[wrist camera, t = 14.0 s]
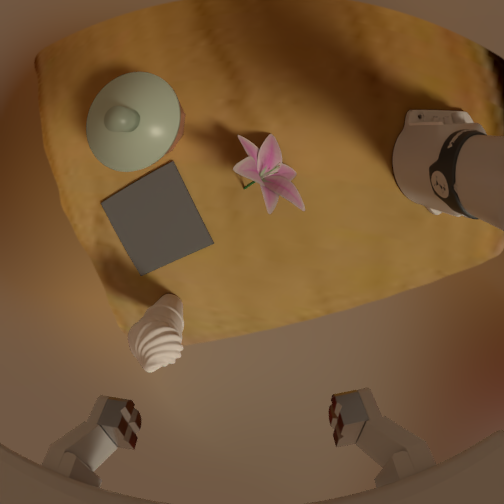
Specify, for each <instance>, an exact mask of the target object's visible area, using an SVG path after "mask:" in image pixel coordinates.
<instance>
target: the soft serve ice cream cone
mask: <svg viewBox="0 0 504 504" xmlns="http://www.w3.org/2000/svg"><path fill="white" fill-rule="evenodd" d="M183 328H184V321H183V303H182V301H181V300H180V298H179V297H177V296H176V295H173V294H165V295H163V296H162V297H161V298H160V299H159V300H158V301H157V302H156V303H155V304H154V305H153V306H151V307H149V308H148V309H147V311H146V312H145V315H144V316H143V317H142V318H141V319H140V320H139V322H137V323H135V324H134V325H133V326H132V327H131V329H130V330H129V333H128V342H129V347H130V350H131V352H132V353H133V355H134V356H135V357H136V358H137V360H138V361H139V363H140V365H141V366H142V368H143V369H144V370H145V371H146V372H149V373H151V372H154V371H155V370H156V369H159V368H160V367H161V366H163V367H165V366H167V365H168V364H174V363H175V359H176V358H180V357H181V354H180V351H182V350H183V346H182V345H181V342H182V331H183Z"/></svg>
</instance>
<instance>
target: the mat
mask: <svg viewBox="0 0 504 504" xmlns="http://www.w3.org/2000/svg"><path fill="white" fill-rule="evenodd" d="M101 204H102V206H103V208H104V210H105V212H106V214H107V216H108V218H109V220H110V222H111V224H112V226H113V228H114V230H115V231H116V233H117V235H118V237H119V239H120V241H121V242H122V244H123V246H124V248H125V250H126V251H127V253H128V255H129V256H130V258H131V260H132V262H133V263H134V265H135V267H136V268H137V270H138V272H139V273H140V275H141V276H142V275H144V274H147V273H149V272H151V271H153V270H155V269H158V268H160V267H162V266H164V265H167V264H169V263H171V262H173V261H175V260H178V259H180V258H182V257H184V256H187V255H189V254H191V253H194V252H196V251H198V250H200V249H203V248H205V247H207V246H210V245H212V244H214V242H213V240H212V238H211V236H210V234H209V232H208V230H207V228H206V226H205V224H204V222H203V220H202V218H201V216H200V214H199V212H198V210H197V208H196V206H195V204H194V202H193V200H192V198H191V196H190V194H189V192H188V190H187V188H186V186H185V184H184V182H183V180H182V178H181V176H180V174H179V172H178V170H177V167H176V165H175V163H174V161H172V162H170V163H168V164H167V165H165V166H163V167H161V168H159V169H157V170H156V171H154V172H152V173H150V174H148V175H147V176H145V177H143V178H141V179H140V180H138V181H136V182H134V183H133V184H131V185H129V186H128V187H126V188H124V189H123V190H121V191H120V192H118V193H116V194H115V195H113V196H111V197H110V198H108V199H107V200H105V201H104V202H102V203H101Z"/></svg>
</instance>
